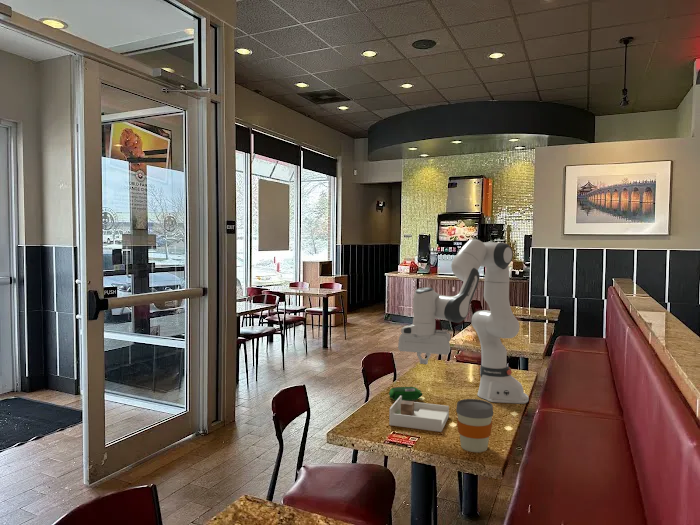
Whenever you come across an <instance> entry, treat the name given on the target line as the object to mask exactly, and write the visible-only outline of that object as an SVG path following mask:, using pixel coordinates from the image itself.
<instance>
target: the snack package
mask: <svg viewBox="0 0 700 525" xmlns="http://www.w3.org/2000/svg"><path fill="white" fill-rule="evenodd" d="M388 396H389V398H390V399H392V400H393V401H394V402H395V401H396V400H397V399H398V398H399V397H400V396H402V401H403V400H405V401H417V400H419V399H420V398H421V397H422V396H423V393H422V391H421V389H419V388H417V387H416V386H415V387H414V386H396V387H395V386H394V387H391V388H390V389H389V392H388Z"/></svg>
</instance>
